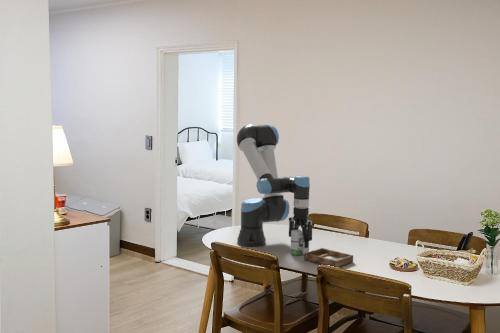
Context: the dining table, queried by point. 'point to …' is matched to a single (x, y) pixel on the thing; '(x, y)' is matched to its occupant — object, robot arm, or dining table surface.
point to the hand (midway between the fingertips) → (299, 252)
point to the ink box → (297, 242)
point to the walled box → (328, 257)
